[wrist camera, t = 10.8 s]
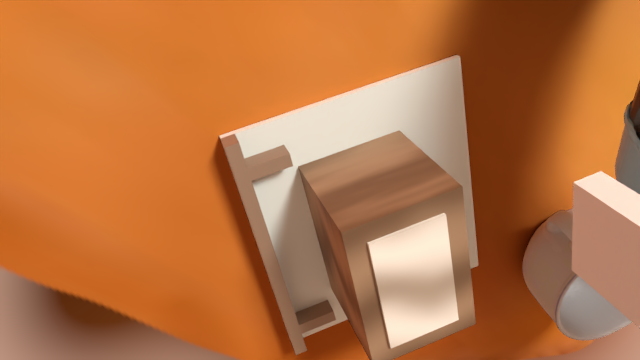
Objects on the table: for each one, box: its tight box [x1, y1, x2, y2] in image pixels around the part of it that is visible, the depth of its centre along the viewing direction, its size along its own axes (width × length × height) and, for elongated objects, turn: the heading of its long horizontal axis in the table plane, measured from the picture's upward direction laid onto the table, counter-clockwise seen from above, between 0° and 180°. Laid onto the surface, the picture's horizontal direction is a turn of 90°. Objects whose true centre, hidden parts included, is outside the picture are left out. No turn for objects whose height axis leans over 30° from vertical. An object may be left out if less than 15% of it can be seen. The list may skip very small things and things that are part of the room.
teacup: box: [522, 208, 632, 340], centre depth 50 cm, size 14×11×8 cm
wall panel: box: [219, 55, 479, 355], centre depth 45 cm, size 18×20×2 cm
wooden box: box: [298, 130, 476, 360], centre depth 41 cm, size 12×8×9 cm, turn 13°
